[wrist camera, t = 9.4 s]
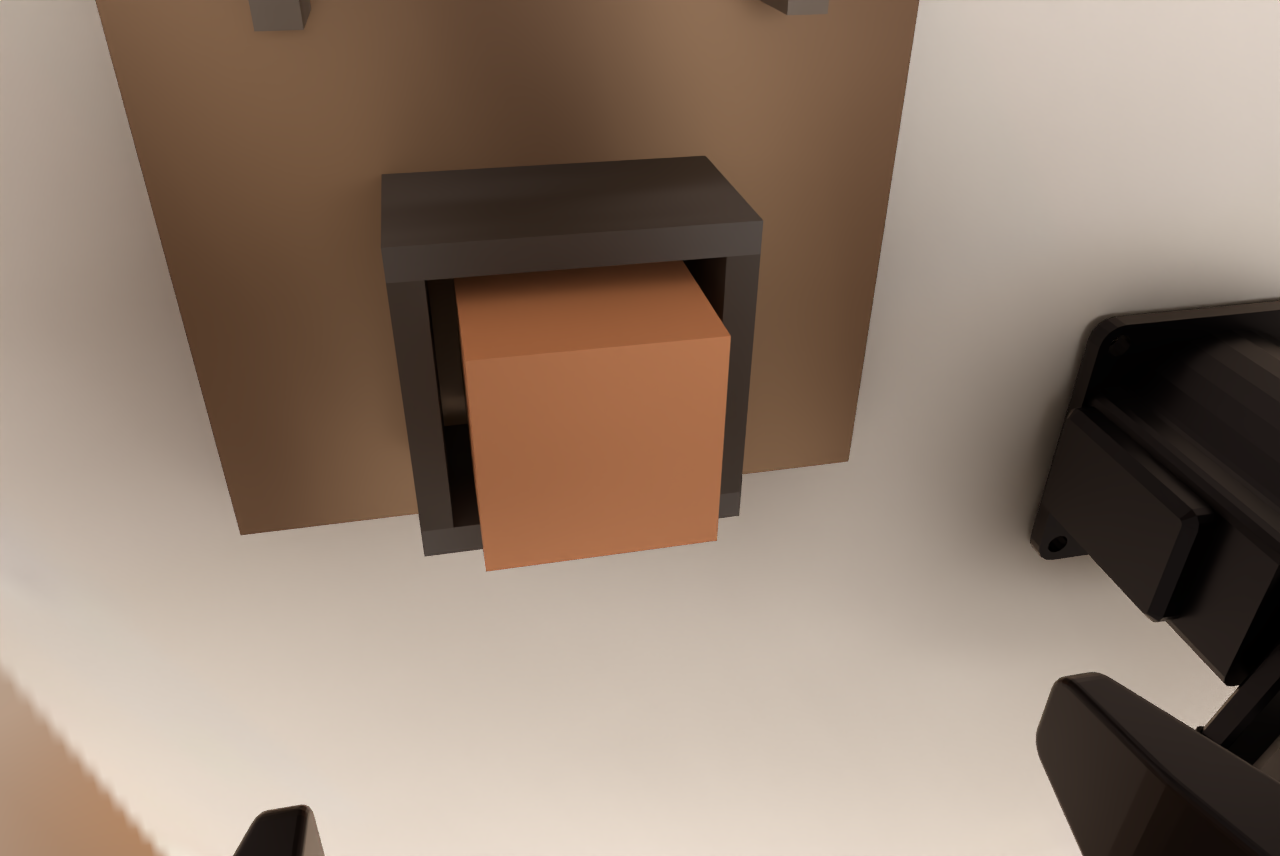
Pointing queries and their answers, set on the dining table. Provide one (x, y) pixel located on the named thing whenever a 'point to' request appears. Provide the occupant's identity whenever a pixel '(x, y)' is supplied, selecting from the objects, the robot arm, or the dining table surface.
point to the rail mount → (500, 213)
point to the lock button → (592, 410)
